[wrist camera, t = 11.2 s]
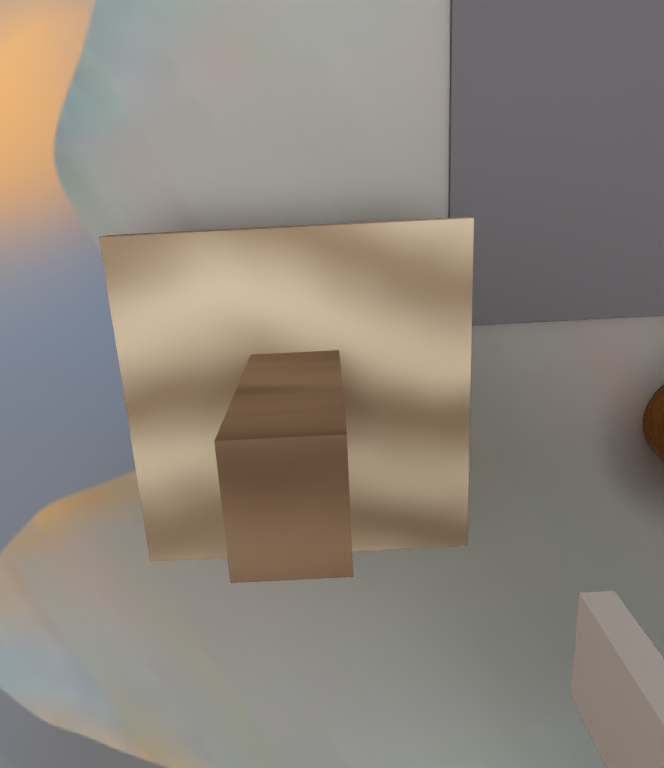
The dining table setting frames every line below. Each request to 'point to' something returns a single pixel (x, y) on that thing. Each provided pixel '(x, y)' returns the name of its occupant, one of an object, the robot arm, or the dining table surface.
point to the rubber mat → (559, 156)
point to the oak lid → (297, 390)
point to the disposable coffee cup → (655, 423)
